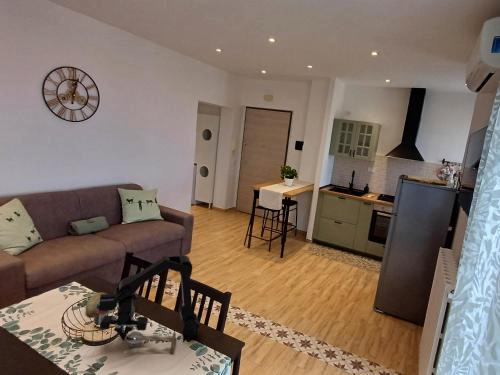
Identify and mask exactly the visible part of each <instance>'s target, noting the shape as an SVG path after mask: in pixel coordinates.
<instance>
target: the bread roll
mask: <svg viewBox="0 0 500 375" xmlns="http://www.w3.org/2000/svg"><path fill="white" fill-rule="evenodd" d="M101 294H108V293H107V292H106V293H105V292H97V293H94V294H93V295H92V296H90V298H89V299H88V300H87V302H86V304H85V314H87V316H89V317H95V307H96V306H97V303H98V302H99V301H100V295H101Z"/></svg>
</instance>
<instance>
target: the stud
mask: <svg viewBox="0 0 500 375" xmlns="http://www.w3.org/2000/svg"><path fill="white" fill-rule="evenodd" d="M131 332H132V331H131ZM131 332H129V333H128V334H127V336H126V338H125V340H126V341H125V342H126V343H127V344H128V348H130V349H134V348H140V346H141V343H143V341H144V339H143V334H144V333H142V332H139V331H135V332H132V333H131Z"/></svg>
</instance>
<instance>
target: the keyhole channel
mask: <svg viewBox="0 0 500 375" xmlns="http://www.w3.org/2000/svg"><path fill="white" fill-rule="evenodd" d="M132 332H136V330H132V331H131V332H130V333H132ZM142 334H143V340H150V341H161V342H171V343H170V347H138V348H134V349H131V348H130V349H127V350H125V351H123V352H124V353H123V355H124V357H129V356H132V355H137V354H170V355H173V354H174V351H175V350H174V349H175V343H176V335H177V333H176V332H173V333H172V335H162V334H149V333H142Z"/></svg>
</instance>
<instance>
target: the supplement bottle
mask: <svg viewBox="0 0 500 375" xmlns="http://www.w3.org/2000/svg"><path fill="white" fill-rule="evenodd" d="M99 303H100V301H99V302H98V303H97V306H96V307H95V316H94V320H93V323H95V324H96V325H100V323H101V321H102V319H103V317H104V316H109V312H110V311H100V312H99Z"/></svg>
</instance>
